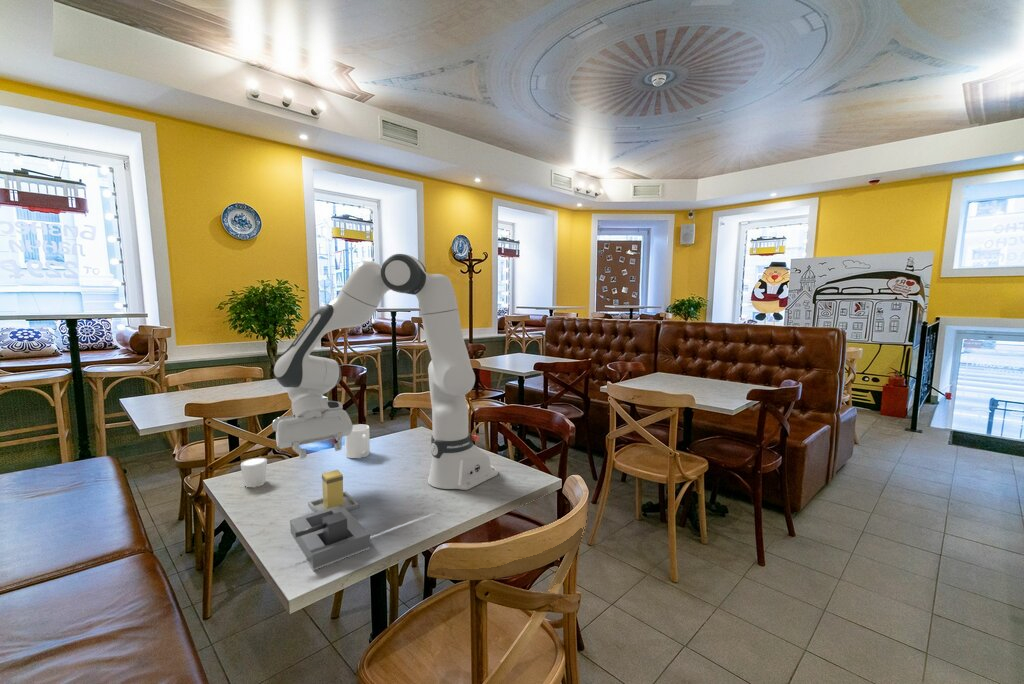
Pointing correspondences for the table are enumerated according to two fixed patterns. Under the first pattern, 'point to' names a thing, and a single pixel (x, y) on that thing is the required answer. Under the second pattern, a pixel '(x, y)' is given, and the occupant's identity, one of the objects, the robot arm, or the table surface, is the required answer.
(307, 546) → the grey socket block
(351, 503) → the tray
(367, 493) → the table surface
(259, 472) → the white cylinder
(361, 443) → the cup
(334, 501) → the plug
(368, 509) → the table surface
